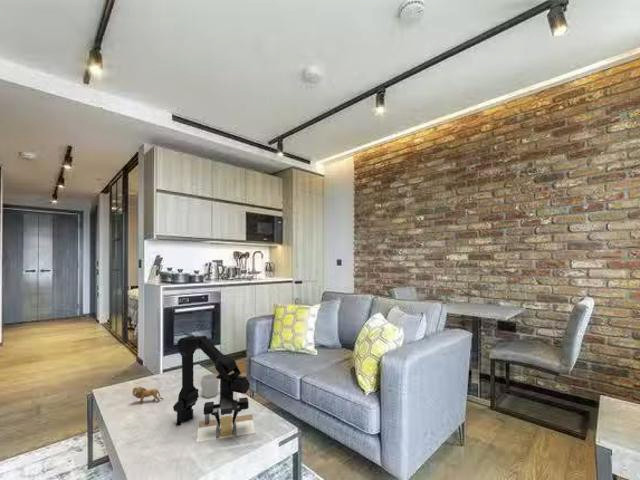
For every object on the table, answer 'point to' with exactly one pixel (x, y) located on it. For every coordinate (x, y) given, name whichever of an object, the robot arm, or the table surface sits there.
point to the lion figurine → (145, 393)
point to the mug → (209, 385)
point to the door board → (215, 431)
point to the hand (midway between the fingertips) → (226, 425)
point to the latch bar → (226, 426)
